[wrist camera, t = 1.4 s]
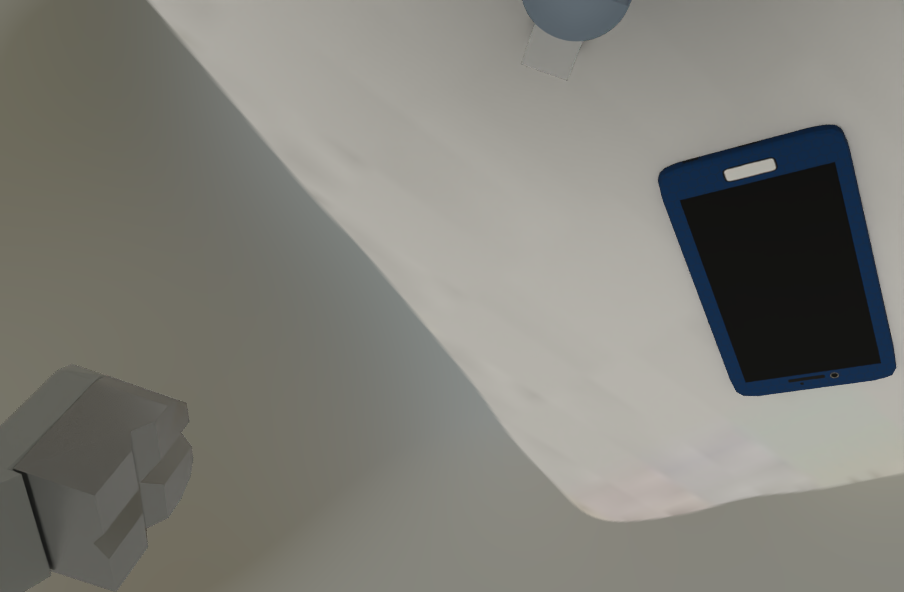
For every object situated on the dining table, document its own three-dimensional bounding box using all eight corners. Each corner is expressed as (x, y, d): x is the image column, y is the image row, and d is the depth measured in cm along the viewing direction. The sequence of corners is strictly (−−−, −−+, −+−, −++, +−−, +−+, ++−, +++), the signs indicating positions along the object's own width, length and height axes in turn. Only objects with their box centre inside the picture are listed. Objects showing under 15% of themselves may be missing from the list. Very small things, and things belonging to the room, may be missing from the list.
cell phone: (841, 113, 32) (844, 123, 31) (898, 367, 39) (900, 379, 38) (652, 164, 35) (651, 174, 35) (737, 390, 42) (737, 401, 42)
